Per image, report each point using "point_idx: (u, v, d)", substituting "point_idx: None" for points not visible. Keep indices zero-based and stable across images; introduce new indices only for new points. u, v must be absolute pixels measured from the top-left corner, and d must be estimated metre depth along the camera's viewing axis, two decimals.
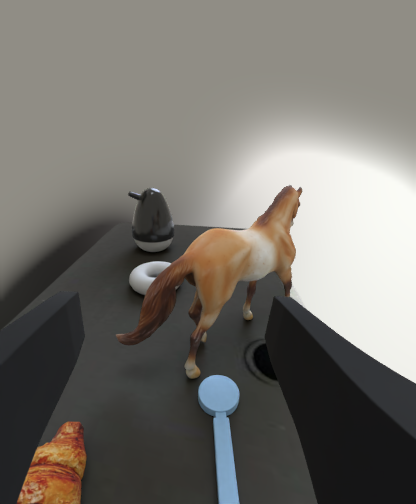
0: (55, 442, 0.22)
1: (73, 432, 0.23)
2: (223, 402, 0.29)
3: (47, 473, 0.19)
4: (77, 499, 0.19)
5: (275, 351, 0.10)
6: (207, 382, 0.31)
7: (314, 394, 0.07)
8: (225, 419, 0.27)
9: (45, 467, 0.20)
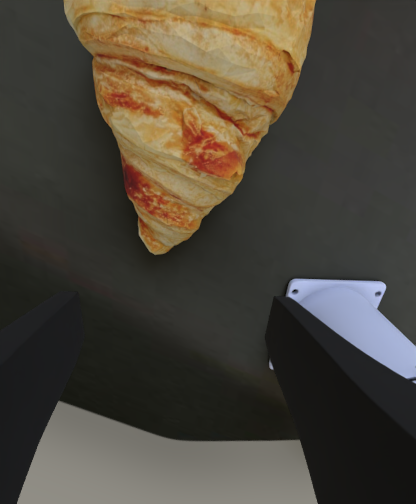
0: None
1: None
2: None
3: None
4: None
5: (275, 351, 0.10)
6: None
7: (314, 394, 0.07)
8: None
9: None
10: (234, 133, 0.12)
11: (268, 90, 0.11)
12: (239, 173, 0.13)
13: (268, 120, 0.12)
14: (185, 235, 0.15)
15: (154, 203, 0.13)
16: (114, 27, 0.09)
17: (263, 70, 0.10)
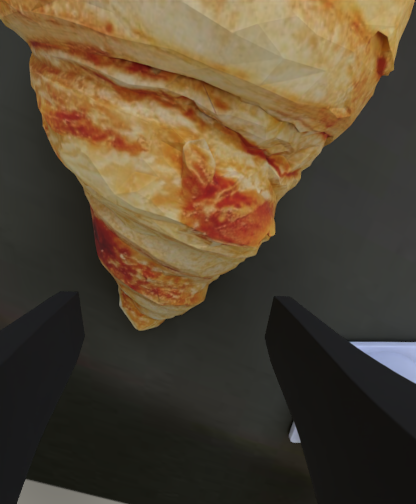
0: None
1: None
2: None
3: None
4: None
5: (275, 351, 0.10)
6: None
7: (314, 394, 0.07)
8: None
9: None
10: (266, 175, 0.07)
11: (337, 107, 0.06)
12: (271, 234, 0.08)
13: (320, 151, 0.08)
14: None
15: (139, 276, 0.09)
16: None
17: (338, 71, 0.05)
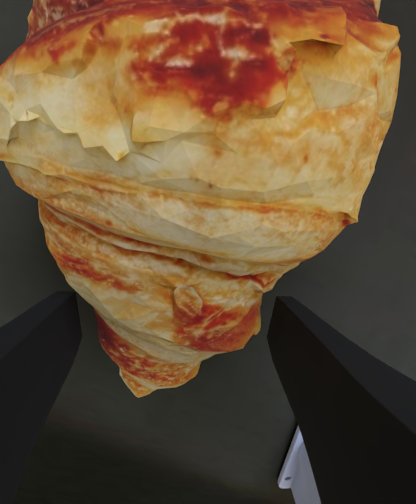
0: None
1: None
2: None
3: None
4: None
5: (278, 351, 0.10)
6: None
7: (317, 394, 0.07)
8: None
9: None
10: (250, 289, 0.08)
11: (308, 254, 0.07)
12: (257, 332, 0.09)
13: None
14: None
15: (137, 366, 0.10)
16: (52, 188, 0.05)
17: (305, 242, 0.06)
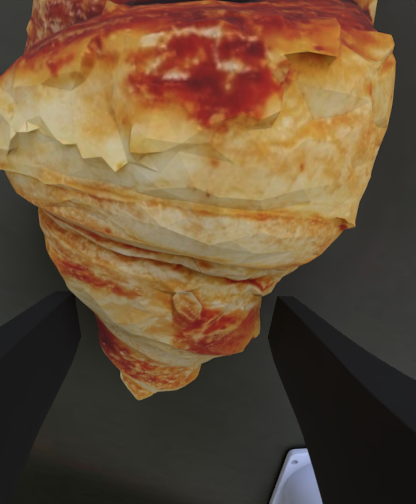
0: None
1: None
2: None
3: None
4: None
5: (279, 351, 0.10)
6: None
7: (319, 394, 0.07)
8: None
9: None
10: (249, 293, 0.08)
11: (306, 259, 0.07)
12: (256, 335, 0.09)
13: None
14: None
15: (137, 369, 0.10)
16: (52, 197, 0.05)
17: (302, 248, 0.06)
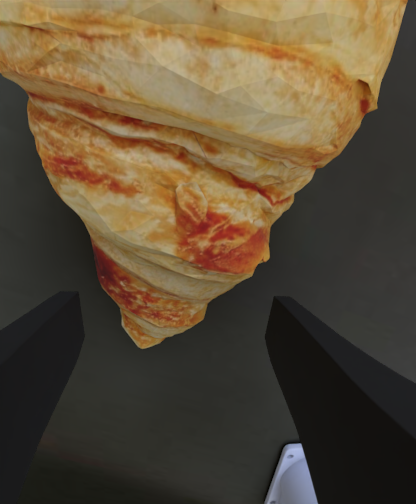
0: None
1: None
2: None
3: None
4: None
5: (275, 351, 0.10)
6: None
7: (314, 394, 0.07)
8: None
9: None
10: (259, 205, 0.08)
11: (323, 146, 0.06)
12: (266, 259, 0.08)
13: None
14: None
15: (139, 302, 0.09)
16: (37, 50, 0.05)
17: (321, 118, 0.05)
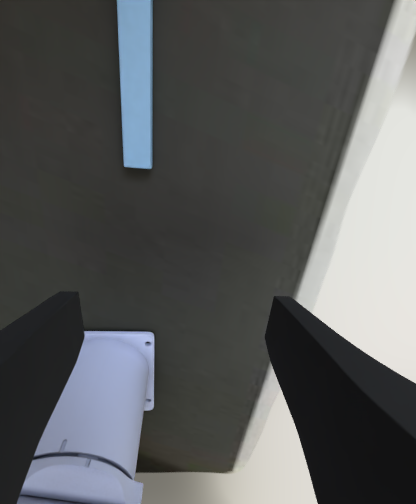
0: None
1: None
2: None
3: None
4: None
5: (275, 351, 0.10)
6: None
7: (314, 394, 0.07)
8: None
9: None
10: None
11: None
12: None
13: None
14: None
15: None
16: None
17: None
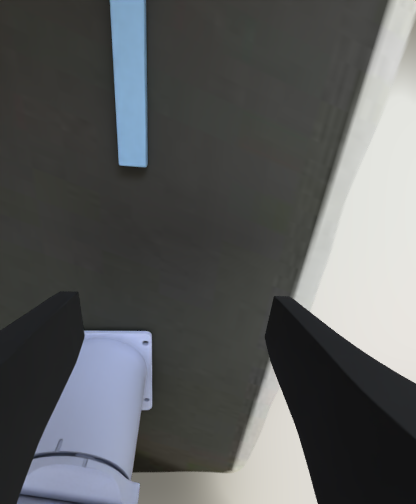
0: None
1: None
2: None
3: None
4: None
5: (275, 351, 0.10)
6: None
7: (314, 394, 0.07)
8: None
9: None
10: None
11: None
12: None
13: None
14: None
15: None
16: None
17: None
